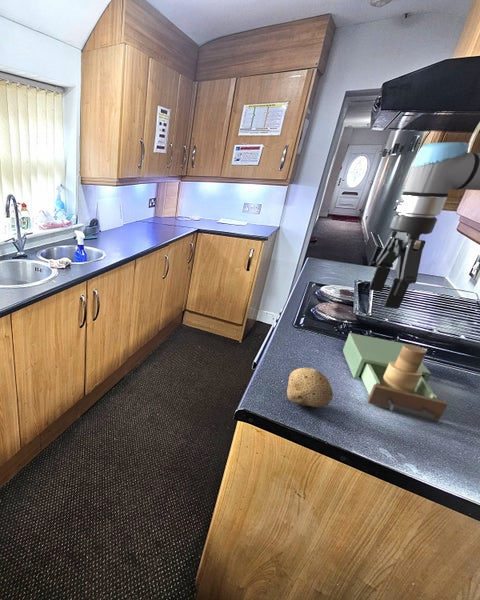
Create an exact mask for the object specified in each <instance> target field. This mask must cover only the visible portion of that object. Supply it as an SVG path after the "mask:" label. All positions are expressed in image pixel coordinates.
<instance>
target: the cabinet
mask: <svg viewBox="0 0 480 600" xmlns="http://www.w3.org/2000/svg"><path fill="white" fill-rule="evenodd" d="M405 344H406V343H404V342H399V341H394V340H388V339H383V338H378V337H373V336H368V335H362V334H358V333H353V332H349V333H348V336H347V338H346V340H345V344H344V346H343V349H342V352H343V355H344V358H345V360H346V363H347V366H348V369H349V370H350V372H351V375H352V377H353V379H355V380H360V381H363V379H362V377H361V375H360V372H361V370H362V368H363V365H364V363H365V362H367V363H372V364H376V365H381V366H385V367H388V365H389V363H390V362H392V361H396V360H397V358H398V356H399V354H400V352H401V349H402V347H403V345H405ZM418 369H420V370H421V371H422V377H423V379H424V380H425V381H426V383H428V380H429V378H430V376H431V374H432V373H431V372H430V370H429V368H427V367H426V365H425V364H424V362H423V361H422V362H421V364H420V366H419V368H418Z"/></svg>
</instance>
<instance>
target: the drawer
mask: <svg viewBox="0 0 480 600" xmlns="http://www.w3.org/2000/svg"><path fill="white" fill-rule="evenodd" d="M386 369H387V367H385V366H381V365H376V364H372V363H367V362H365V363H364V365H363V368H362V370H361V372H360V375H361V377H362V379H363V380H362V382H363V384H364V386H365V389H366V390H367V393H368V397H367V403H368V404H371V405H374V406H378V407H381V408H385V409H389V411H390V412H393V413H396V414H400V415H404V416H408V417H411V418H415V419H418V420H422V421H426V422H430V423H433V422H434V421H435V422H439V421H440V419H441V417H442V416H443V414H444V412H445V410H446V409H447V407H448V405H449V404H448V402H447V401H445V400H443V399H442V400H441V399H438V396H437V395H436V393H435V392H434V391H433V389H432V388H431V387H430V385H429V384H428V382H426V381H425V380H424V379H423V377H422V376H421V378H420V380H419V382H418V384H417V386H416V388H415V390H414V392H413V393H409V392H405V391H400V390H396V389H392V388H388V387H384V386H380V382H381V380H382V378H383V376H384V374H385V371H386Z"/></svg>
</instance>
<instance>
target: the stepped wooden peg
mask: <svg viewBox="0 0 480 600" xmlns="http://www.w3.org/2000/svg"><path fill="white" fill-rule="evenodd" d="M404 344H405V345H403V347H402V349H401V352H400V354H399V356H398V358H397V360H396V361H392V362H390V363H389V365H388V367H387V369H386V371H385V374H384V376H383V378H382V380H381V382H380V386H384V387H388V388H392V389H396V390H400V391H405V392H409V393H413V392H414V390H415V388H416V386H417V384H418V382H419V380H420V378H421V376H422V371H421V370H420V369H418V368H419V366H420V364H421V362H422V363H423V360H424V359H425V356H426V354H427V350H426V349H425V348H423V347H421V346H418V345H415V344H409V343H404Z"/></svg>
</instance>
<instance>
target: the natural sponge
mask: <svg viewBox="0 0 480 600" xmlns="http://www.w3.org/2000/svg"><path fill="white" fill-rule="evenodd" d="M286 388H287V389H286V396H287V399H288V401H290V402H291V403H294V404H295V405H298V406H300V407H312V408H322V407H325V406H328V405H329V404H330V403H331V402H332V400H333V397H334V392H333V390H332V386H331V383H330V381H329V379H328V378H327V376H326V375H324V373H322V372H321V371H319V370H318V369H315V368H312V367H300V368H296V369H294V370H292V371H291V372H290V374H289V376H288V382H287V387H286Z"/></svg>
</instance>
